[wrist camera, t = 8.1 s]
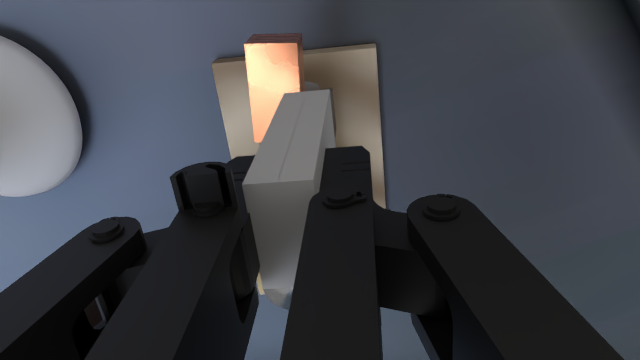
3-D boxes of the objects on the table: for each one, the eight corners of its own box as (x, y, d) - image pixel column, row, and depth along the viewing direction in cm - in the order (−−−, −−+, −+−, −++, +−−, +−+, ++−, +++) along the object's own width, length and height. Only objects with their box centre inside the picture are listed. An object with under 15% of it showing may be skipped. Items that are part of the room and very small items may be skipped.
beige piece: (389, 278, 38) (399, 389, 29) (262, 284, 39) (234, 392, 30) (375, 43, 30) (382, 94, 21) (216, 58, 31) (158, 114, 22)
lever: (325, 294, 26) (322, 318, 25) (268, 293, 26) (263, 317, 25) (314, 32, 20) (310, 42, 18) (241, 34, 20) (230, 44, 19)
